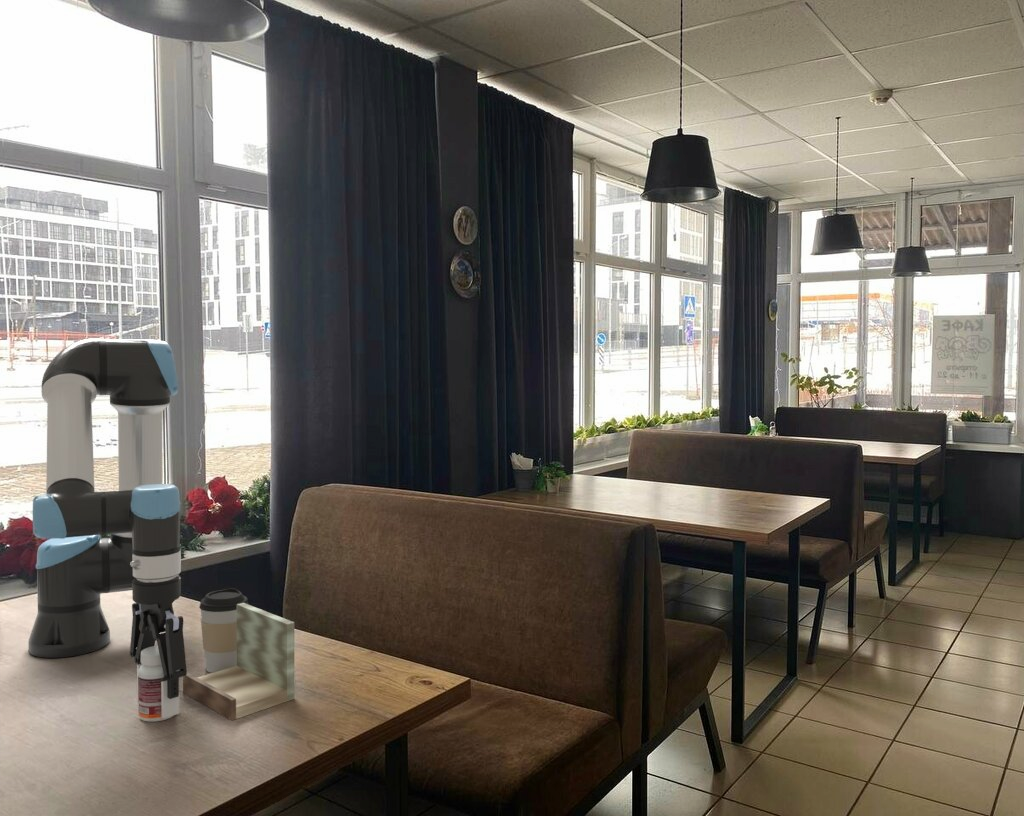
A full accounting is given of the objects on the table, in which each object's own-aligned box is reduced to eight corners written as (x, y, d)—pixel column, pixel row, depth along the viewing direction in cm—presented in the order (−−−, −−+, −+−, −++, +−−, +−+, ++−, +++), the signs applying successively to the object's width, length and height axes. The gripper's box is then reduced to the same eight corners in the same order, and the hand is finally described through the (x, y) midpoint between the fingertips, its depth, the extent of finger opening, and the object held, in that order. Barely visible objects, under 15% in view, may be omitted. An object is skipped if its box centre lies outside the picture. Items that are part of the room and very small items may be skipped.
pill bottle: (177, 719, 139) (177, 653, 138) (137, 725, 137) (137, 658, 136) (177, 705, 145) (176, 642, 144) (138, 710, 142) (137, 646, 142)
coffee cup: (232, 677, 158) (232, 600, 157) (190, 673, 159) (189, 597, 158) (256, 660, 166) (256, 587, 165) (216, 656, 168) (215, 584, 167)
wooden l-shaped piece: (182, 692, 150) (182, 617, 149) (243, 673, 159) (243, 602, 159) (231, 720, 139) (231, 639, 138) (294, 698, 148) (294, 622, 147)
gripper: (107, 569, 143) (109, 696, 145) (164, 593, 129) (165, 734, 131) (150, 561, 149) (151, 684, 150) (209, 584, 135) (209, 719, 136)
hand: (157, 707), depth 141 cm, fingers open, 8 cm apart
